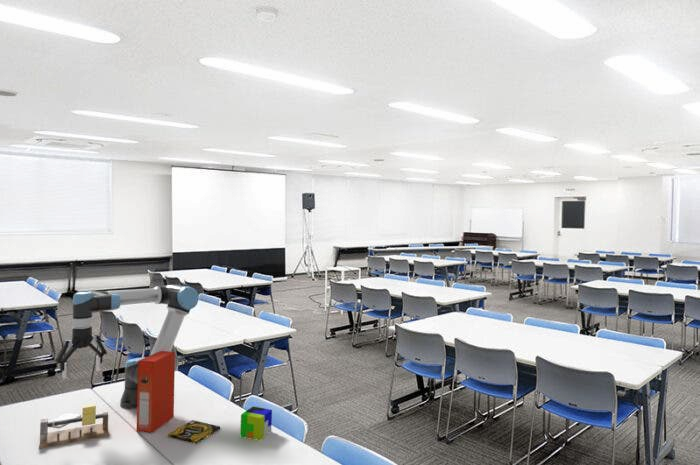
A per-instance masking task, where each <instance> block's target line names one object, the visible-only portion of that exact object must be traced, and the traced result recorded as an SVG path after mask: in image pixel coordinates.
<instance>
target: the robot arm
mask: <svg viewBox="0 0 700 465" xmlns="http://www.w3.org/2000/svg"><path fill="white" fill-rule="evenodd" d="M151 303H152V304H153V303H154V304H155V305H167V306H166V310H167V311H168V312H167V313H166V316H165V319H164V321H163V323H162V326H161V329H160V331H159V334H158V335H157V337H156V338H157V339H156V341H155V343H154V345H153V348H152V350H151V352H150V355H152V354H155V353H157V352H159V351H170V352H172V349H173V347H174V344H175V341H176V339H177V337H178V333H179V331H180V328H181V327H182V324H183V321H184V319H185V317H187V315H189V314H190V312H191V310H192V309H193V308H195V307H196V306H197V305H198V303H199V294H198V292H197V290H196V289H195V288H193V287H192V286H189V285H183V284H174V283H173V284H167V285H159V286H158V285H157V286H154V287H153V288H137V289H136V288H135V289H121V290H120V289H119V290H118V289H117V290H105V291H101V290H100V291H95V290H89V291H79V292H75V293H74V294H73V297H72V336H71V337H72V338H71V339H64V340H63V345H62V347H61V348H60V351H59V352H58V354H57V357H56V359H55V360H54V362H55V363H56V364H59V370H60V371H61V372H62V375H61V378H63V379H67V378H68V377H67V373H68V372H67V370H68V369H67V367H68V366H67V365H68V363H67V361H68V359H69V358H70V357H71V356H72V355H73V354H74V352H75V351H77V350H79V349H84V348H87V347H89V348H90V349H91V350H92V351H93V352H94V353H95V354H96V356H95V357H96V358H95V371H97V372H100V371H101V364H102V363H103V357H104V355H107V354H108V351H107V350H106V348H105V347H104V345H103V343H102V342H101V340H100V339H101V337H100V335H99V334H95V335H94V336H93V327H92V325H93V313H99V312H108V311H115V310H119V309H120V308H121V306H126V305H138V304H139V305H140V304H151ZM92 341H94V342H96V345H97V347H98V348H99V350H98V348H96V347H95V345H94V344H92ZM71 344H72V345H71ZM70 345H71V346H70ZM69 346H70V348H69ZM68 348H69V350H68ZM67 350H68V351H67ZM146 357H147V356H146ZM146 357H136V358H131V359H128V360H127V361H126V362H125V366H124V389H123V392H122V396H121V398H120V400H119V401H120V404H119V405H120V407H121V408H125V409H137V385H138V361H139V360H141V359H143V358H146Z"/></svg>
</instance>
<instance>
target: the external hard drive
mask: <svg viewBox="0 0 700 465" xmlns="http://www.w3.org/2000/svg"><path fill="white" fill-rule="evenodd" d="M79 417H82V414H80V413H79V414H78V413H71V412H70V413H69V412H66V413H65V414H62V415H60V416H59V417H56V418H55V419H53V420H50V421H49V422H52V421H54V420H55V421H60V420H66V419H72V418H79ZM66 425H67V424H63V425H57V426H54V427H52V426H51V427H52V428H59V429H60V428H62V427H64V426H66ZM51 427H50V428H51Z"/></svg>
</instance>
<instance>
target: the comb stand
mask: <svg viewBox="0 0 700 465" xmlns="http://www.w3.org/2000/svg"><path fill="white" fill-rule="evenodd" d="M98 419H102V423H98V424H96V423H95V424H91V425H85V426H80V427H79V426H78V427H75V428H68V429H62V430H58V431H57V430H56V431H51V432H49V431H48V430H49V428H51V426H52V428H55V427H54V426H57V425H63V424H66V425H68V424H75V423H79V422H80V423H82V416H81V417H79V418H72V419H66V420H60V421H55V420H54V419H53V420H54V421H52V420H51V421H52V422H50V421H49V418H48V417H47V418H41V419H40V424H39V426H40V427H39V429H40V430H39V444H38V449H44V448H50V447H55V446H61V445H65V444H67V445H68V444H72V443H76V442H82V441H87V440H93V439H98V438H104V437H108V436H109V412H108V411H107V412H103V413H98V414H96V418H95V420H98Z"/></svg>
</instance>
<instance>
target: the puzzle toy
mask: <svg viewBox="0 0 700 465" xmlns="http://www.w3.org/2000/svg"><path fill="white" fill-rule="evenodd" d="M272 416H273V409H269V408H266V407H265V408H264V407H258V406H252V407H250V408H248V409H247V410H245V411H244V412H243V413H241V414H240V431H239V433H240V435H239V436H241V437H240V438H244V437H246V438H245V439H248V438H251V439H250V440H253V439H257V440H256V441H258V440H261V439H262V438H263V437H264V436H265V437H267V434H268V433H269V432H270V433H271V432H272V427H273V426H272V421H273V417H272ZM270 433H269V434H270ZM269 434H268V435H269ZM265 437H264V438H265ZM264 438H263V439H264ZM263 439H262V440H263ZM262 440H261V441H262Z"/></svg>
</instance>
